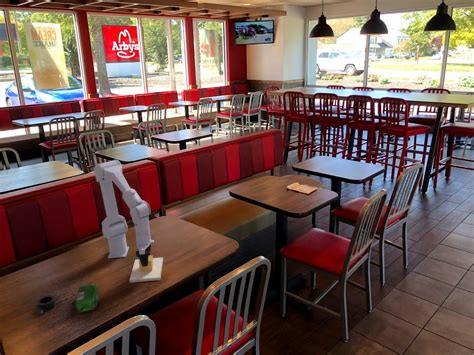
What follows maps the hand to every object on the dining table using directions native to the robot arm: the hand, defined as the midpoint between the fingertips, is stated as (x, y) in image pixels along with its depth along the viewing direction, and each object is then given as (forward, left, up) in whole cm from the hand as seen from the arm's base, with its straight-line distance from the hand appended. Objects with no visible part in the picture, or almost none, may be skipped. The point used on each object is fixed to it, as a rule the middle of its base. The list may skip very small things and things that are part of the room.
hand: (146, 261), depth 160 cm
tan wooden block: (0, 0, -3) cm, 3 cm away
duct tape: (+19, -34, -5) cm, 39 cm away
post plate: (0, 0, -4) cm, 4 cm away
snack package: (+20, -19, -5) cm, 28 cm away
